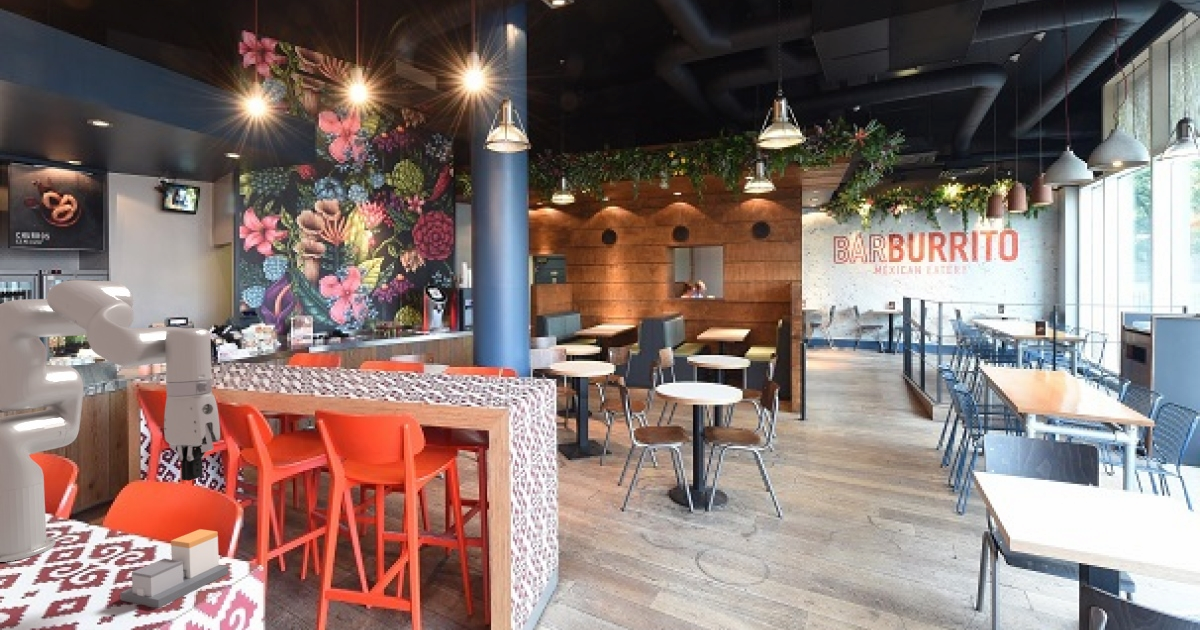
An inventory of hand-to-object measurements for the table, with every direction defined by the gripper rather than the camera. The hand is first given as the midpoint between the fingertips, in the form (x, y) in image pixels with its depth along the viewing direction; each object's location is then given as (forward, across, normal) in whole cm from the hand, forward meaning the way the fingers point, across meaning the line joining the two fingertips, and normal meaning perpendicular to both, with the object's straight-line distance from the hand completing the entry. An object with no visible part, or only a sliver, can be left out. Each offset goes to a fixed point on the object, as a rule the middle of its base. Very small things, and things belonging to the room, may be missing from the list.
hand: (192, 478), depth 118 cm
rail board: (+20, 0, +4) cm, 21 cm away
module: (+19, 0, 0) cm, 19 cm away
